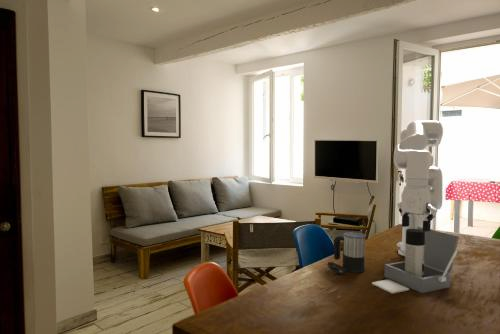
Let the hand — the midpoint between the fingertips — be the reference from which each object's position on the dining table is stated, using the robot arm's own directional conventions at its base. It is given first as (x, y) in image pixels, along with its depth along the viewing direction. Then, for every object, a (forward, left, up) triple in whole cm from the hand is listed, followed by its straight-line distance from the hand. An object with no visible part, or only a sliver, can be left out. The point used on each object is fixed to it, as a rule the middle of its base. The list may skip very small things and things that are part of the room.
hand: (415, 228), depth 141 cm
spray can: (0, 0, -21) cm, 21 cm away
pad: (0, -12, -21) cm, 24 cm away
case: (0, +3, -21) cm, 21 cm away
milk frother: (-21, -15, -21) cm, 33 cm away
